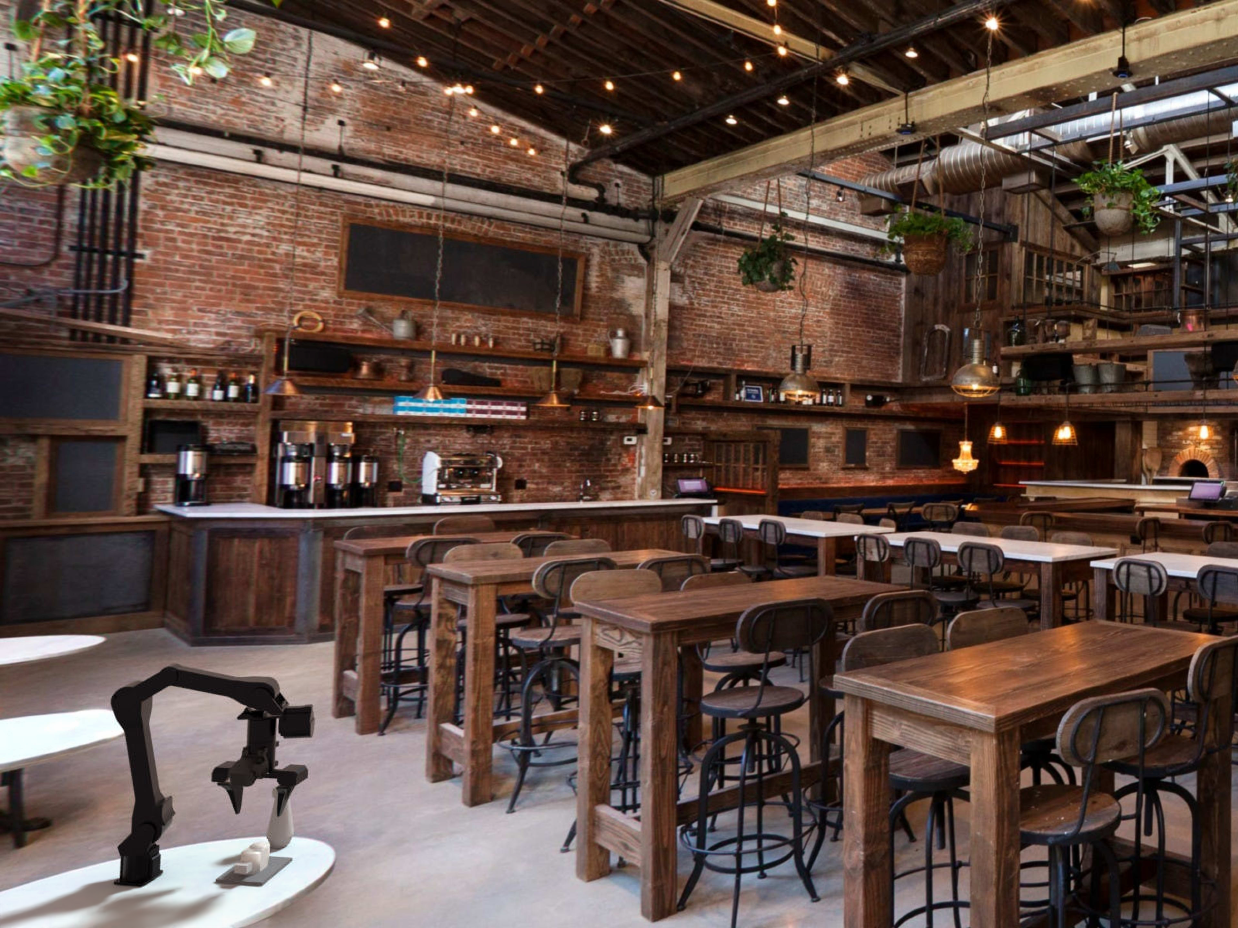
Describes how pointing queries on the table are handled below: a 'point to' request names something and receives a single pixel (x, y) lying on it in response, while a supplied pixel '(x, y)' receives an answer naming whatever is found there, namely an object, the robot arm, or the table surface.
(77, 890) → the table surface
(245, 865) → the plug
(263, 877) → the coaster
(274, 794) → the salt shaker
